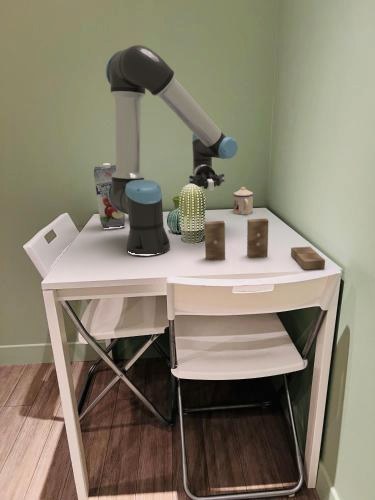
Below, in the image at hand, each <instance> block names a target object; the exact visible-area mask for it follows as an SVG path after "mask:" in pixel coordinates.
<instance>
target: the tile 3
mask: <svg viewBox="0 0 375 500" xmlns="http://www.w3.org/2000/svg"><path fill="white" fill-rule="evenodd" d="M290 256H291V257H292V258H293V259H294V261H295V262H296V263H297V264H298V265H299V266H300V267H301V268H302V270H304V271H305V270H306V271H307V270H318V269H319V270H320V269H322V270H323V269H325V268H326V266H325V265H326V260H325V258H324V257H322V255H320V254H319V253H318V252H317V251H316V250H314V249H313V247H311V246H298V247H297V246H296V247H295V246H294V247H290Z"/></svg>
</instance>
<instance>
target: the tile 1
mask: <svg viewBox="0 0 375 500" xmlns="http://www.w3.org/2000/svg"><path fill="white" fill-rule="evenodd" d="M204 249H205V260H210V261H223V260H224V261H225V260H226V222H225V221H224V220H217V221H214V220H213V221H204Z"/></svg>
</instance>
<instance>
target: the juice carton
mask: <svg viewBox="0 0 375 500" xmlns="http://www.w3.org/2000/svg"><path fill="white" fill-rule="evenodd" d="M115 172H116V164H112V165H111V163H108V162H105V163H103V164H102V165H100V166H99V165H97V166H95V167H94V169H93V176H94V177H93V178H94V185H95V194H96V199H97V209H98V215H99V221H100V224H101V227H102V229H103V228H109V227H120V226H124V227H125V224H126V214H125V213H123V212H120V211H118V210H116V209H115V208H114V207H113V206H112V205H111V204H110V202H109V200H108V188H109V186H110V185H111V184H112V175H113V174H114V173H115Z"/></svg>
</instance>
